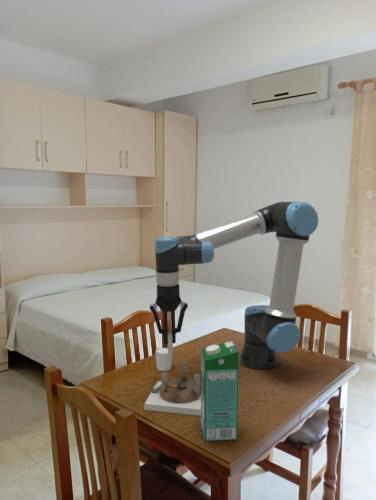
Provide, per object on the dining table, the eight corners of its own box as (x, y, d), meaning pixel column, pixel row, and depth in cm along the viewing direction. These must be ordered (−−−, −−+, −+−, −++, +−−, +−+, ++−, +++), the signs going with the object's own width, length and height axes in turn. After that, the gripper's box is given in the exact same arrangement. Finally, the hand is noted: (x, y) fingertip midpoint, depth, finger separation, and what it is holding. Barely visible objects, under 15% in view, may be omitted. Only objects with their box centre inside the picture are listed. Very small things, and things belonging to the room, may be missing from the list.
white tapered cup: (173, 364, 159) (173, 347, 158) (171, 372, 152) (171, 354, 152) (156, 364, 160) (156, 347, 159) (153, 371, 153) (153, 353, 152)
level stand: (214, 392, 136) (214, 381, 136) (208, 416, 121) (208, 404, 120) (158, 386, 140) (158, 376, 140) (144, 409, 125) (144, 398, 124)
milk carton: (200, 423, 117) (201, 340, 114) (231, 421, 118) (232, 339, 115) (204, 441, 108) (205, 352, 105) (237, 439, 109) (238, 351, 106)
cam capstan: (202, 384, 137) (202, 362, 136) (199, 403, 124) (199, 380, 123) (163, 381, 139) (163, 360, 138) (155, 401, 125) (155, 377, 124)
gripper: (186, 280, 137) (188, 347, 140) (147, 282, 135) (150, 349, 138) (188, 285, 129) (190, 355, 132) (148, 287, 128) (151, 358, 131)
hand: (170, 352), depth 135 cm, fingers closed
